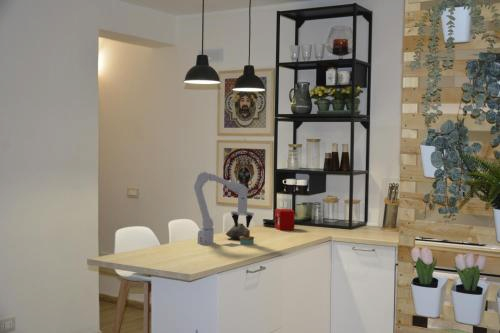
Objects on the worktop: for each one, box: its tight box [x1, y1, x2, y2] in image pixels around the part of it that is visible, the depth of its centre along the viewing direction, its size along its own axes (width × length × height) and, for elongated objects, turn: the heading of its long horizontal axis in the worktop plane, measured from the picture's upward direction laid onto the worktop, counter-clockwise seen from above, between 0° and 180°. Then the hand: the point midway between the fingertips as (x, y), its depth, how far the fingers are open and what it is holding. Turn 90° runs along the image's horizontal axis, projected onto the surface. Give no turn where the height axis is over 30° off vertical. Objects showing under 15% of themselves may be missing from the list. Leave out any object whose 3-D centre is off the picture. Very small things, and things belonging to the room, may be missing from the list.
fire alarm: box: [274, 208, 295, 232], centre depth 451 cm, size 16×11×15 cm
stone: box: [225, 222, 249, 241], centre depth 395 cm, size 18×10×15 cm
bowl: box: [239, 238, 255, 246], centre depth 375 cm, size 8×8×4 cm
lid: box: [239, 229, 255, 240], centre depth 374 cm, size 9×9×5 cm
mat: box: [222, 243, 242, 248], centre depth 369 cm, size 10×10×1 cm
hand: (242, 227), depth 377 cm, fingers open, 7 cm apart
